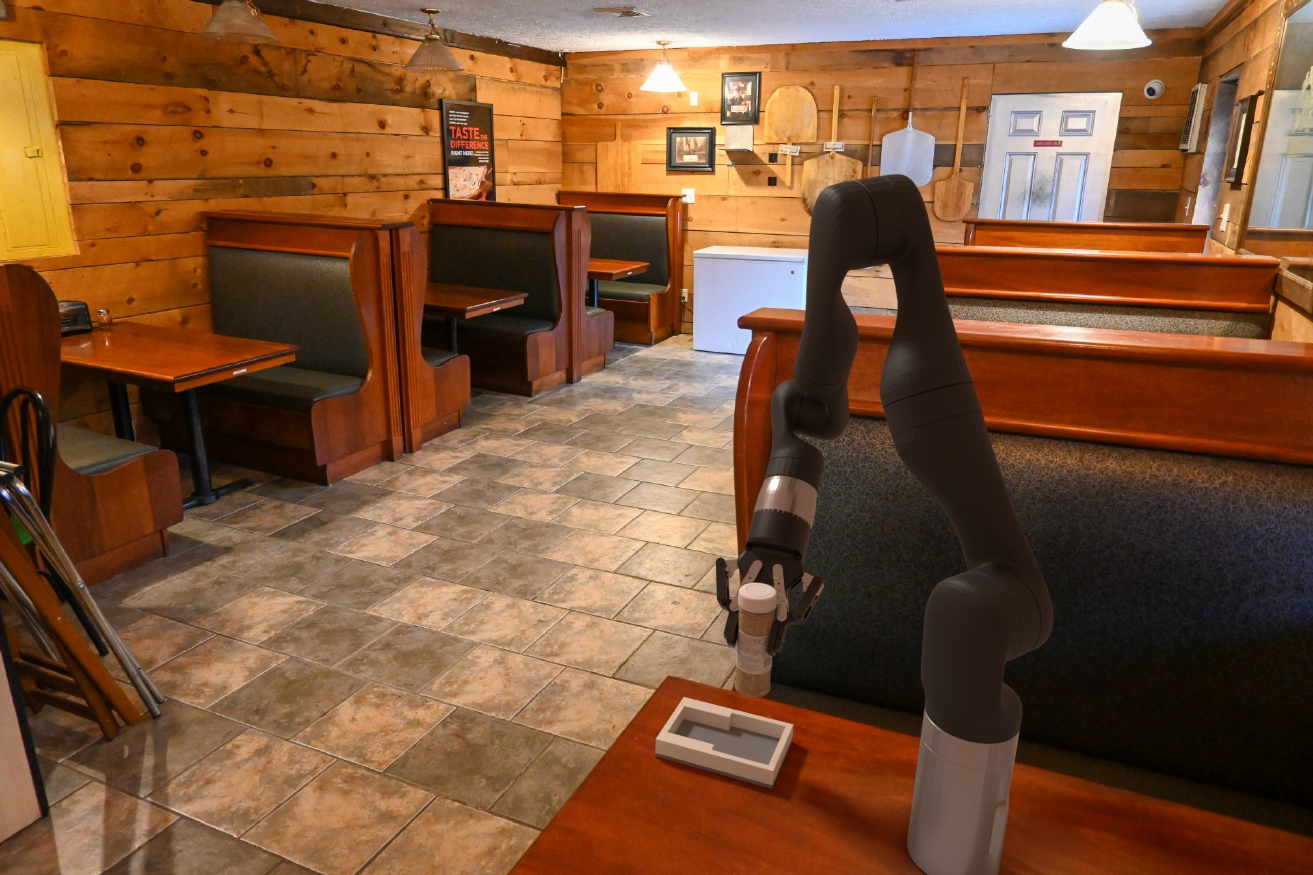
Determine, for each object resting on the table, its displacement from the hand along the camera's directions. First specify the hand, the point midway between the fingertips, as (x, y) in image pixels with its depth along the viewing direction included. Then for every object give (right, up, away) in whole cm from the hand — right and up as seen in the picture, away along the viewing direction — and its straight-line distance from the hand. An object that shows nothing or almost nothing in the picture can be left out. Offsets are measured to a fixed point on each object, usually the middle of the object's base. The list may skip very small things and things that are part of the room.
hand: (750, 648), depth 102 cm
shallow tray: (-3, -14, +7) cm, 16 cm away
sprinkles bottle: (+1, -6, +4) cm, 7 cm away
